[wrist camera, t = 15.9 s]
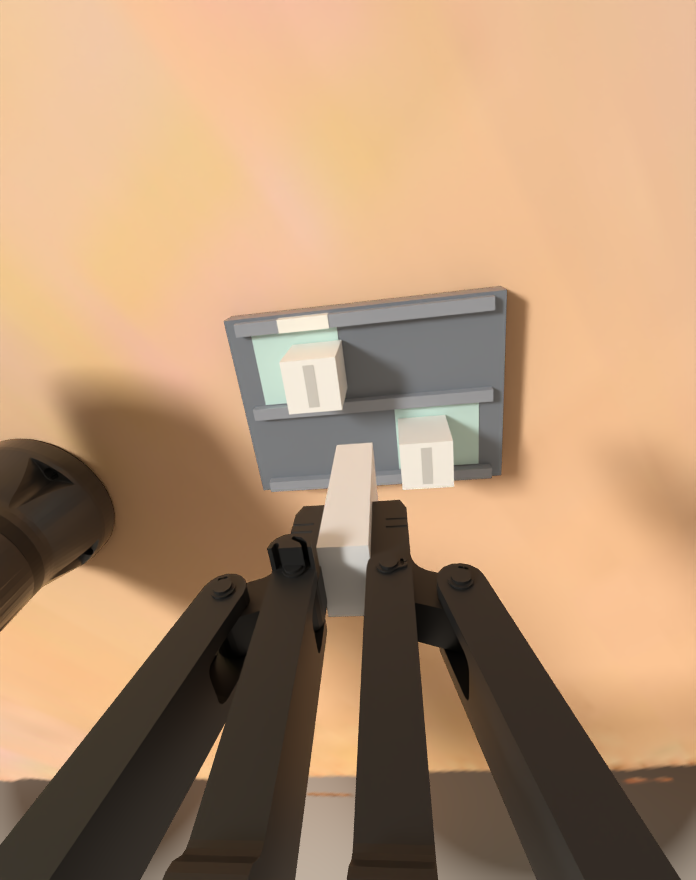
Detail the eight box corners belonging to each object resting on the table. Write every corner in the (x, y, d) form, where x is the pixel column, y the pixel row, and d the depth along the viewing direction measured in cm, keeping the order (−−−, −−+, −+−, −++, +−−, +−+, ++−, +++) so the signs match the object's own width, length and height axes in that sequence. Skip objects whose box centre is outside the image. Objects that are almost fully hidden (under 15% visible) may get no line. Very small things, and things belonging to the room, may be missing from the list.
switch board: (268, 479, 45) (261, 495, 42) (231, 316, 38) (220, 323, 35) (496, 464, 42) (503, 480, 39) (500, 286, 35) (509, 291, 33)
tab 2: (400, 459, 40) (402, 489, 36) (397, 418, 38) (399, 444, 34) (446, 456, 40) (454, 486, 35) (445, 414, 38) (453, 441, 33)
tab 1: (300, 391, 38) (289, 414, 33) (292, 344, 36) (279, 362, 32) (347, 387, 37) (342, 410, 33) (341, 339, 36) (334, 357, 31)
